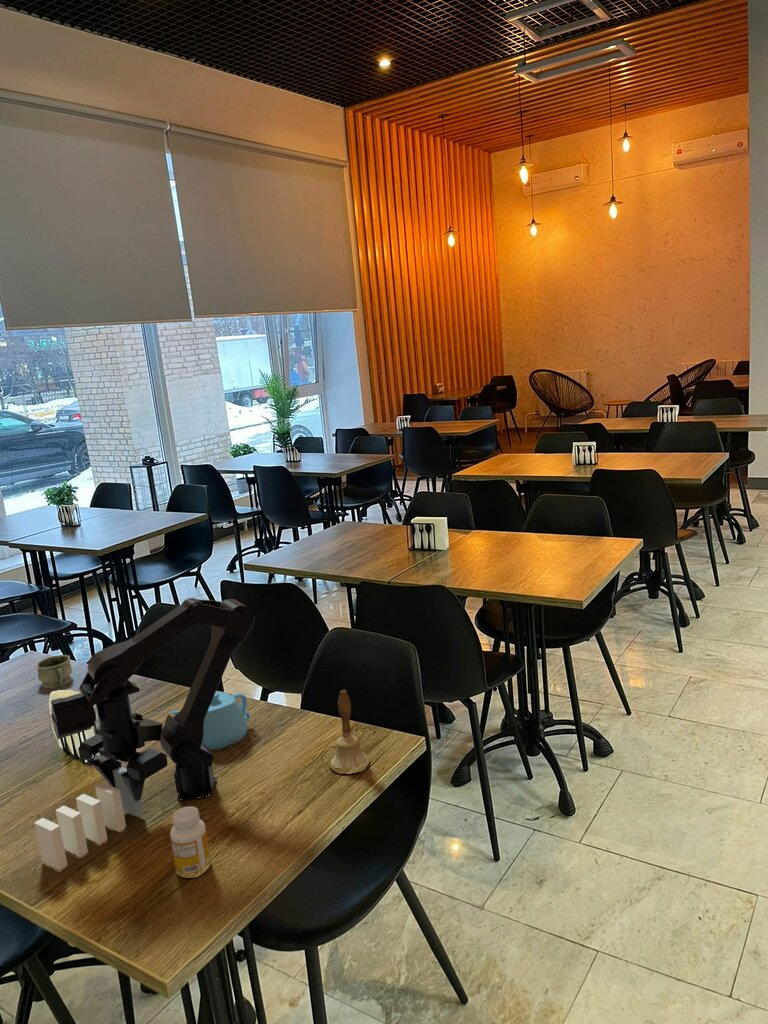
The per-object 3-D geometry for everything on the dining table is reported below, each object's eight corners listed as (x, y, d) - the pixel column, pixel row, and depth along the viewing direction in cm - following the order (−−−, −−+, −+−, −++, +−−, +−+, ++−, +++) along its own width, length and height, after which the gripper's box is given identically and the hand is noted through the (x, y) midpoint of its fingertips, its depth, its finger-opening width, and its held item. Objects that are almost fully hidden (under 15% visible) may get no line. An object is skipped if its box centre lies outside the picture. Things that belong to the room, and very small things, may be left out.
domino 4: (109, 821, 143) (102, 782, 141) (126, 828, 140) (119, 789, 138) (102, 826, 142) (95, 786, 140) (119, 833, 139) (112, 793, 137)
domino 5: (126, 804, 146) (119, 766, 144) (143, 811, 143) (136, 772, 141) (119, 808, 145) (112, 770, 143) (136, 815, 142) (129, 776, 140)
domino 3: (90, 833, 140) (83, 793, 138) (107, 841, 137) (100, 800, 135) (83, 838, 138) (75, 798, 137) (100, 846, 136) (92, 805, 134)
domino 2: (71, 845, 137) (63, 805, 135) (88, 854, 134) (80, 812, 132) (63, 850, 135) (55, 810, 134) (80, 859, 132) (72, 817, 131)
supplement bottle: (197, 853, 131) (189, 799, 129) (218, 865, 128) (210, 810, 126) (169, 872, 127) (160, 816, 125) (190, 884, 123) (181, 828, 121)
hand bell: (345, 750, 161) (338, 679, 158) (378, 759, 156) (371, 686, 153) (320, 769, 155) (312, 696, 151) (353, 779, 150) (346, 704, 147)
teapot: (157, 700, 168) (232, 674, 178) (164, 745, 170) (237, 717, 181) (181, 719, 158) (258, 690, 169) (188, 766, 160) (264, 735, 171)
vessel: (80, 682, 209) (76, 661, 208) (46, 694, 203) (42, 671, 202) (66, 671, 218) (62, 650, 217) (33, 681, 213) (29, 660, 211)
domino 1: (50, 858, 133) (42, 817, 132) (68, 867, 131) (59, 825, 129) (42, 863, 132) (34, 822, 130) (59, 873, 129) (51, 830, 128)
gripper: (184, 710, 141) (195, 787, 144) (120, 692, 152) (132, 764, 155) (134, 738, 132) (148, 818, 136) (70, 716, 143) (84, 792, 146)
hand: (129, 796), depth 143 cm, fingers closed on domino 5, 5 cm apart
